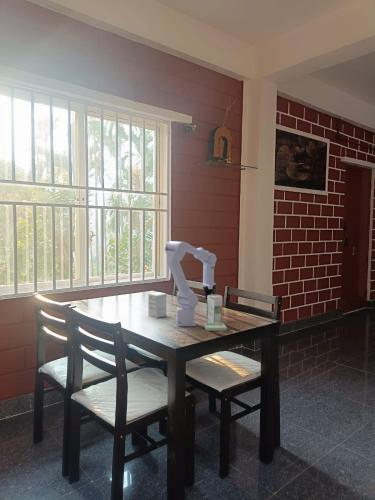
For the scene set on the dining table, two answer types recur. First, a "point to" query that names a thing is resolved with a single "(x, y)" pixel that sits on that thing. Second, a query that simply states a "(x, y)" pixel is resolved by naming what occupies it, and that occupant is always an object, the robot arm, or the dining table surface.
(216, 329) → the tray
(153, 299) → the supplement box
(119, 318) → the dining table surface
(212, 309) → the syrup box
